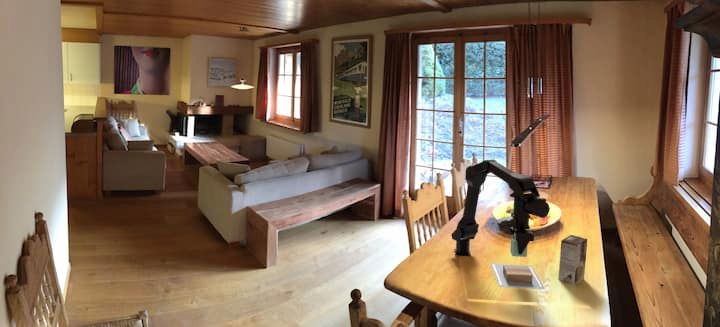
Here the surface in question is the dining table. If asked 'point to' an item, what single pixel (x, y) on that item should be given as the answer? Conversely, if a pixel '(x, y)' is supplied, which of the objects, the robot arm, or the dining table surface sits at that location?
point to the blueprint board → (503, 283)
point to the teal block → (516, 249)
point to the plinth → (517, 273)
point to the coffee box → (572, 259)
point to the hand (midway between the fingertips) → (518, 251)
